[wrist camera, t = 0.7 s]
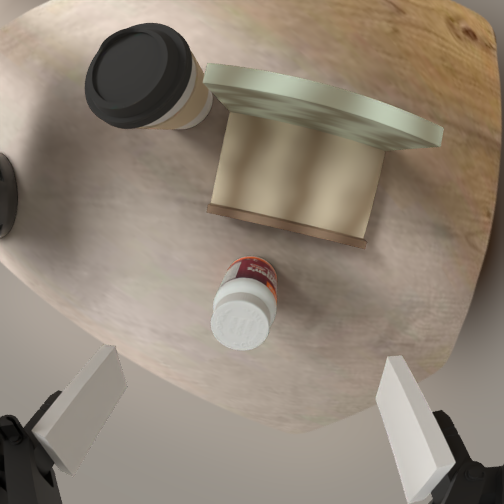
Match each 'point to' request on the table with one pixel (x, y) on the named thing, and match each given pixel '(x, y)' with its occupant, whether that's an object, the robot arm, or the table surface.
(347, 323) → the table surface
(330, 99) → the wooden l-shaped piece
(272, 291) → the pill bottle
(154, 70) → the coffee cup
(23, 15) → the table surface
